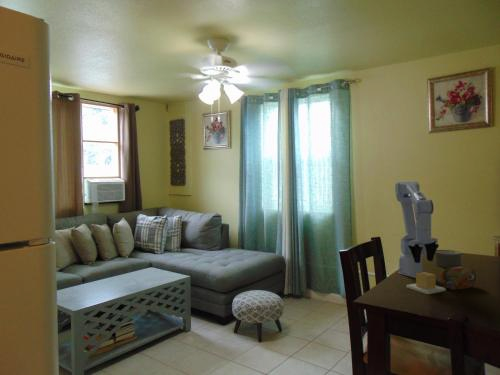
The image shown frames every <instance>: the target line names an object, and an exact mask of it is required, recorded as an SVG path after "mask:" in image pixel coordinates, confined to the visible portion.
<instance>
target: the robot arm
mask: <svg viewBox="0 0 500 375" xmlns="http://www.w3.org/2000/svg"><path fill="white" fill-rule="evenodd" d="M394 186H395V190H394V191H395V197H396V201H398V203H400V205H401V209H402V216H403V223H404V229H405V235H403V236H402V237H401V239H400V250H401V253H402V254H401V255H400V257H399V258H398V268H399V269H398V271H397V273H398V274H400V275H403V276H405V277H406V276H407V277H411V278H414V279H416V273H422V272H423V257H424V256H425V255H426V259H427V261H430V262H434V259H435V252H436V250H438V249H439V246H440V245H439V242H438V239H439V238H437V237H436V238H435V237H432V214H433V213H434V203H433V202H434V201H433V200H432V199H427V198H426V195H424V194H423V193H422V191H420V189H421V188H420V184H419V182H418V181H397V182H396V183H395V185H394Z"/></svg>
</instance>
